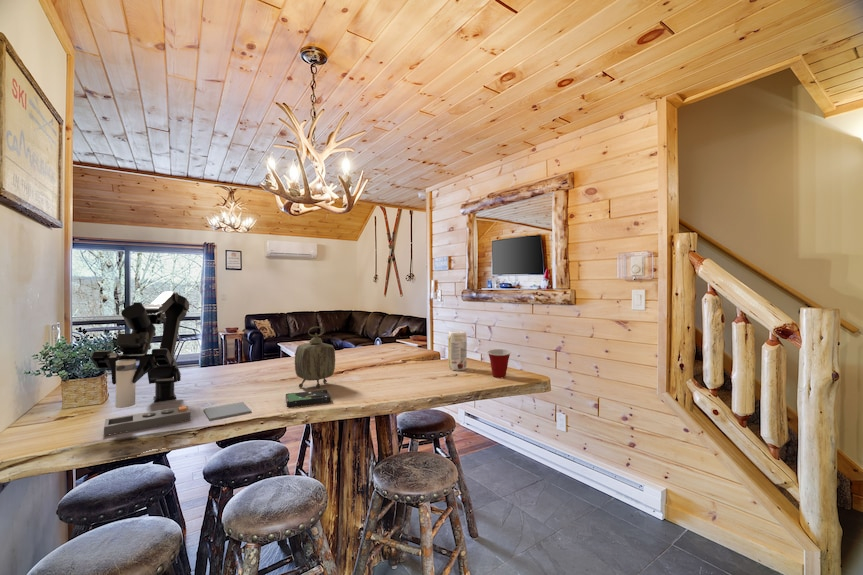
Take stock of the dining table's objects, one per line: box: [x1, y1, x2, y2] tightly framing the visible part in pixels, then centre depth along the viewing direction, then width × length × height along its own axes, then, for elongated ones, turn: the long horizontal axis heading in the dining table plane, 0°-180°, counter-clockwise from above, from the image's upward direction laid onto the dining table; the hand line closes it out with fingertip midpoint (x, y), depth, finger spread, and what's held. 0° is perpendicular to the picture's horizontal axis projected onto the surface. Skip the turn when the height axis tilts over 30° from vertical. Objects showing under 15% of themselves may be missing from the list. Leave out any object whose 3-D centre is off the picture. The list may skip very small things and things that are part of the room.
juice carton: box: [447, 330, 468, 371], centre depth 189 cm, size 8×9×19 cm
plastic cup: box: [487, 348, 512, 379], centre depth 173 cm, size 11×11×12 cm
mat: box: [203, 401, 253, 421], centre depth 123 cm, size 12×12×1 cm
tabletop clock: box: [294, 325, 336, 388], centre depth 154 cm, size 14×9×25 cm, turn 133°
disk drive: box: [285, 389, 332, 408], centre depth 134 cm, size 10×3×15 cm
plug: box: [115, 359, 137, 409], centre depth 106 cm, size 7×4×13 cm, turn 18°
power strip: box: [103, 405, 191, 436], centre depth 111 cm, size 8×20×3 cm, turn 129°
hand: (123, 383), depth 106 cm, fingers closed on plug, 4 cm apart
